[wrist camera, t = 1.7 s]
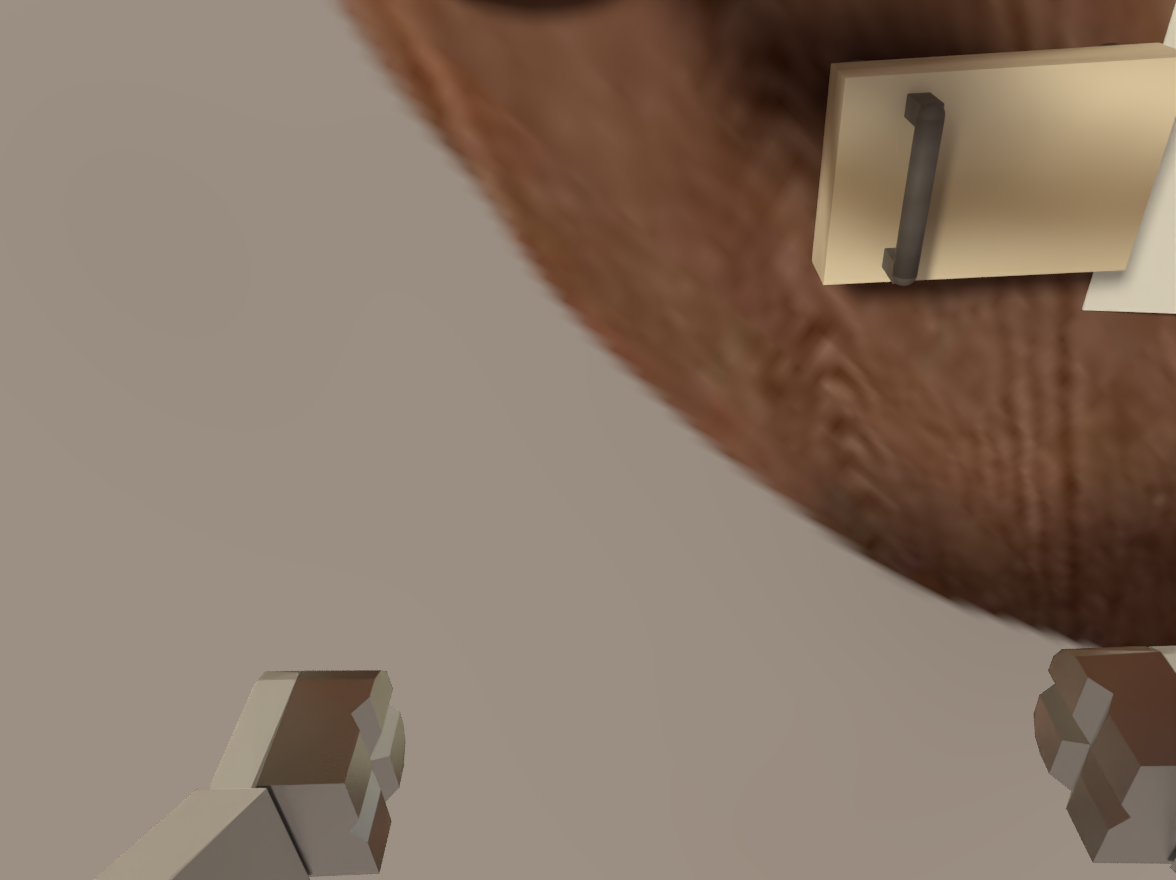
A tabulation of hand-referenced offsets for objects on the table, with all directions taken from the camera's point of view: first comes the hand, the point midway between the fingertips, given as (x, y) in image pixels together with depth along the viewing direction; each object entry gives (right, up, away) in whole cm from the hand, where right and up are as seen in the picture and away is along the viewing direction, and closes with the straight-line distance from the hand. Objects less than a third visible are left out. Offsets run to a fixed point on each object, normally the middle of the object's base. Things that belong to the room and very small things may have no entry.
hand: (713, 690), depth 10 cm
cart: (+10, +12, +16) cm, 23 cm away
